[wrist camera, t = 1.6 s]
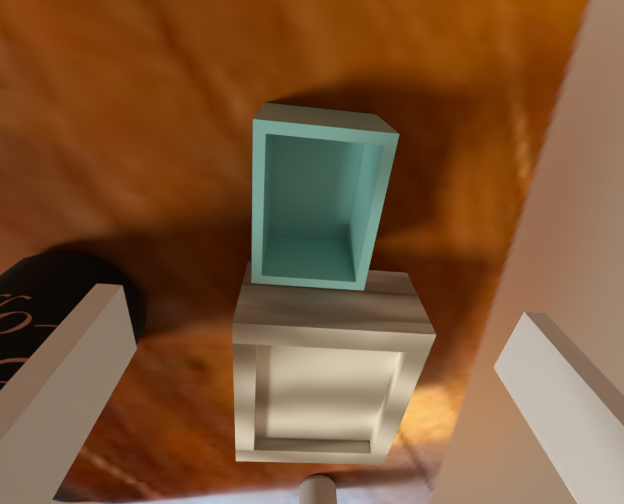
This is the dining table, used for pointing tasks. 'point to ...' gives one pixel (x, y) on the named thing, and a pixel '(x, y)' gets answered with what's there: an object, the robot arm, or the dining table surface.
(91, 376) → the robot arm
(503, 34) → the dining table surface
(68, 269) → the coffee jar
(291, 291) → the beige crate
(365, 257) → the teal crate
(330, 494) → the beverage can
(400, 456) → the dining table surface
